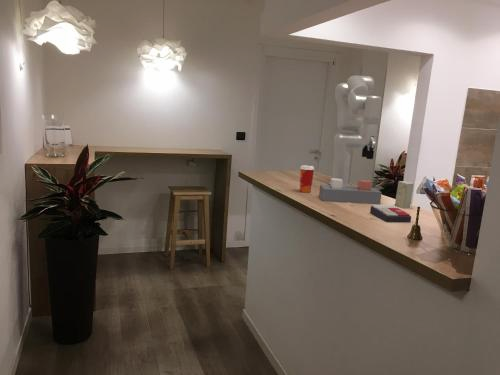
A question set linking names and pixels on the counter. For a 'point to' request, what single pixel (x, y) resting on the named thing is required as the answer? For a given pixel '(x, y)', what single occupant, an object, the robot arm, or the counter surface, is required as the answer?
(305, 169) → the paper cup
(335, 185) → the grey plug
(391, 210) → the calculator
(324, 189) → the plug block
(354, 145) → the robot arm
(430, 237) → the counter surface
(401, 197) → the skincare box
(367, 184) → the red plug
